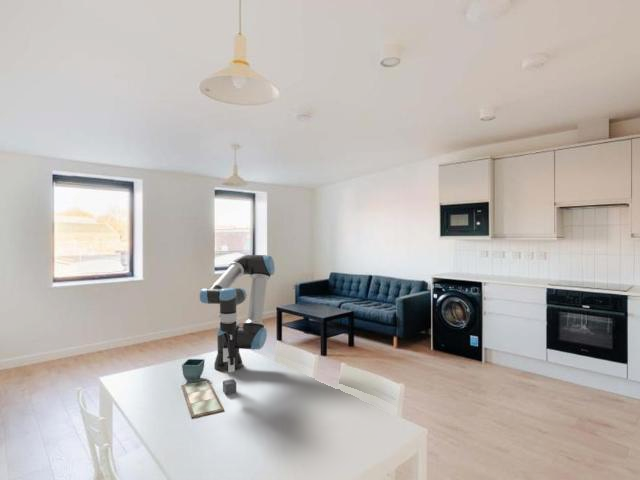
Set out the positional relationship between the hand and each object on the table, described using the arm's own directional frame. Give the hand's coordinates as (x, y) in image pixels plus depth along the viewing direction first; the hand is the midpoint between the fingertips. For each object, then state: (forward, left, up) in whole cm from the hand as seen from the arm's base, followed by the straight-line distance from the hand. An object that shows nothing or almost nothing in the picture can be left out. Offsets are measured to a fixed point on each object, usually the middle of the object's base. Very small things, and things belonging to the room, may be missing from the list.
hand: (228, 366), depth 170 cm
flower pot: (+13, -22, -12) cm, 28 cm away
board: (+13, +1, -12) cm, 17 cm away
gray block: (0, +1, -12) cm, 12 cm away
